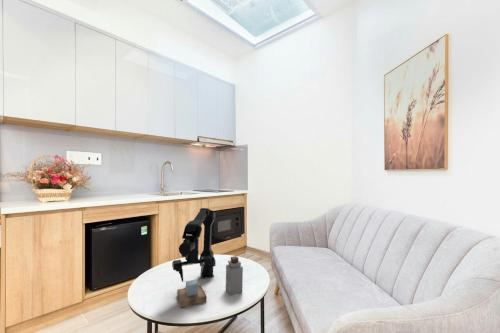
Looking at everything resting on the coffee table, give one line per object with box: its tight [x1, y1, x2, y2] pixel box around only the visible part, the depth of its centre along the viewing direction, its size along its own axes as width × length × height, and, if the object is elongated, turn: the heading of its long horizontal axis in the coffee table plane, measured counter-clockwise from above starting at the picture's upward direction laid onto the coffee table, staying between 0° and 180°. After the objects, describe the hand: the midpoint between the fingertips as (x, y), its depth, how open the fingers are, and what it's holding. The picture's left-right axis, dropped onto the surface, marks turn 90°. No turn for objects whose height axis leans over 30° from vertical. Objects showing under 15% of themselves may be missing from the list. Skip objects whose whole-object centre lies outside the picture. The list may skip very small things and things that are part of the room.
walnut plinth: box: [176, 284, 208, 309], centre depth 113 cm, size 12×12×3 cm
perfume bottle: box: [225, 255, 244, 297], centre depth 121 cm, size 7×7×18 cm
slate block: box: [185, 279, 199, 296], centre depth 113 cm, size 5×5×5 cm
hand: (191, 279), depth 113 cm, fingers open, 9 cm apart
